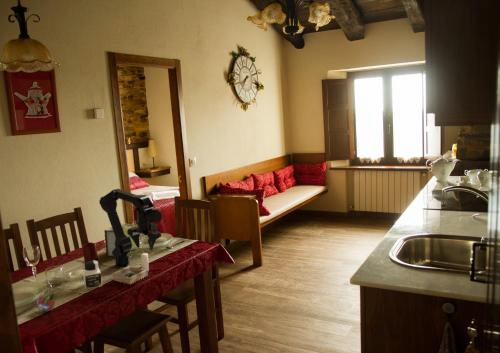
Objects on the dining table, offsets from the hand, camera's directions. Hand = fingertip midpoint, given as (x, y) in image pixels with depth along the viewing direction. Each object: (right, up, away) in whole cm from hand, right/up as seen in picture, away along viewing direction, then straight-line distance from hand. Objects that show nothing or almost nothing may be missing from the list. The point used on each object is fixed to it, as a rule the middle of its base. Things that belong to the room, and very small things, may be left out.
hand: (144, 248), depth 219 cm
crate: (-5, -13, -7) cm, 16 cm away
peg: (0, -12, +2) cm, 12 cm away
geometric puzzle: (-32, -20, -40) cm, 55 cm away
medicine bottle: (-21, -15, -16) cm, 30 cm away
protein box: (-21, -7, +30) cm, 38 cm away
